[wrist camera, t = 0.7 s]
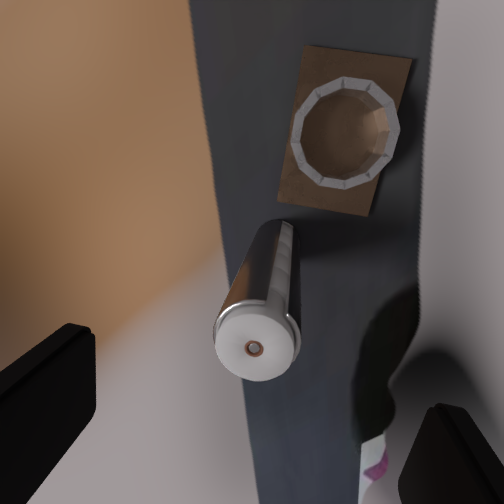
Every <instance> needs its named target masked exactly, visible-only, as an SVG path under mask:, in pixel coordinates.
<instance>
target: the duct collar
mask: <svg viewBox="0 0 504 504" xmlns="http://www.w3.org/2000/svg"><path fill="white" fill-rule="evenodd" d="M411 62H412V59H408V58H400V57H392V56H384V55H377V54H369V53H361V52H354V51H346V50H338V49H331V48H323V47H315V46H307V45H304V49H303V55H302V61H301V66H300V72H299V78H298V84H297V89H296V95H295V101H294V106H293V112H292V118H291V123H290V129H289V135H288V141H287V146H286V152H285V158H284V163H283V169H282V175H281V180H280V186H279V192H278V198H277V201H279V202H284V203H290V204H296V205H302V206H307V207H313V208H319V209H325V210H331V211H336V212H342V213H348V214H354V215H360V216H365V217H368V214H369V210H370V207H371V203H372V200H373V196H374V193H375V189H376V186H377V182H378V179H379V175H380V172H381V170H382V169H383V167H384V166H385V165H386V164H387V163H388V162H389V161H390V160H391V159H392V157H393V153H394V150H395V146H396V143H397V140H398V136H399V133H400V125H399V121H398V117H397V112H398V108H399V105H400V101H401V98H402V94H403V91H404V87H405V83H406V80H407V76H408V73H409V69H410V66H411Z"/></svg>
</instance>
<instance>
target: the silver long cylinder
mask: <svg viewBox="0 0 504 504" xmlns="http://www.w3.org/2000/svg"><path fill="white" fill-rule="evenodd" d="M213 339H214V343H215V348H216V352H217V356H218V357H219V359H220V361H221V362H222V364H223V365H224V366H225V367H226V368H227V369H228V370H229V371H230V372H232V373H233V374H235V375H236V376H239V377H242V378H244V379H248V380H252V381H266V380H269V379H272V378H275V377H277V376H279V375H281V374H283V373H284V372H285V371H286V370H287V369H288V368H289V366H290V364H291V363H292V362H293V361H294V360H295V359H296V357H297V355H298V353H299V351H300V347H301V341H302V338H301V277H300V239H299V235H298V232H297V230H296V229H295V228H294V227H293V226H292V225H291V224H290V223H288V222H286V221H283V220H271V221H268V222H266V223H264V224H263V225H262V226H261V227H260V228H259V229H258V231H257V233H256V235H255V237H254V239H253V241H252V243H251V246H250V248H249V250H248V252H247V254H246V256H245V258H244V261H243V263H242V265H241V267H240V269H239V271H238V273H237V276H236V278H235V280H234V282H233V284H232V286H231V288H230V291H229V293H228V295H227V297H226V299H225V301H224V303H223V306H222V308H221V310H220V312H219V314H218V316H217V319H216V322H215V324H214V327H213Z"/></svg>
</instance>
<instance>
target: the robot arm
mask: <svg viewBox="0 0 504 504" xmlns="http://www.w3.org/2000/svg"><path fill="white" fill-rule="evenodd" d="M95 356H96V355H95V335H94V334H92V333H91V330H90V328H89V327H85V326H80V325H76V324H72V323H67V324H65V325H64V326H62V327H61V328H60V329H58V330H57V331H55V332H54V333H53V334H52V335H50V336H49V337H47V338H46V339H44V340H43V341H42V342H40V343H39V344H38V345H36V346H35V347H33V348H32V349H31V350H29V351H28V352H27V353H25V354H24V355H23V356H21V357H20V358H18V359H17V360H16V361H14V362H13V363H12V364H10V365H9V366H8V367H6V368H5V369H4V370H2V371H1V372H0V504H26V503H27V502H28V501H29V499H30V498H31V497H32V495H33V494H34V493H35V492H36V490H37V489H38V488H39V486H40V485H41V484H42V483H43V481H44V480H45V479H46V477H47V476H48V475H49V474H50V472H51V471H52V470H53V468H54V467H55V466H56V464H57V463H58V462H59V461H60V459H61V458H62V457H63V455H64V454H65V453H66V452H67V450H68V449H69V448H70V446H71V445H72V444H73V443H74V441H75V440H76V439H77V437H78V436H79V435H80V433H81V432H82V431H83V430H84V428H85V427H86V425H87V424H88V423H89V422H90V420H91V419H92V417H93V415H94V413H95V410H96V362H95V361H96V358H95ZM398 491H399V496H400V499H401V502H402V504H504V466H503V464H502V463H501V461H500V460H499V459H498V457H497V455H496V454H495V452H494V451H493V450H492V448H491V446H490V445H489V443H488V442H487V440H486V439H485V437H484V436H483V435H482V433H481V431H480V430H479V429H478V427H477V425H476V424H475V422H474V421H473V419H472V418H471V417H470V415H469V414H468V412H467V411H466V410H465V409H463V408H461V407H457V406H452V405H448V404H442V403H438V404H436V405H435V407H430V408H429V409H428V410H427V413H426V415H425V417H424V420H423V422H422V425H421V427H420V429H419V432H418V434H417V437H416V439H415V441H414V444H413V446H412V448H411V451H410V453H409V456H408V458H407V460H406V463H405V465H404V468H403V470H402V472H401V475H400V477H399V480H398Z"/></svg>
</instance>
